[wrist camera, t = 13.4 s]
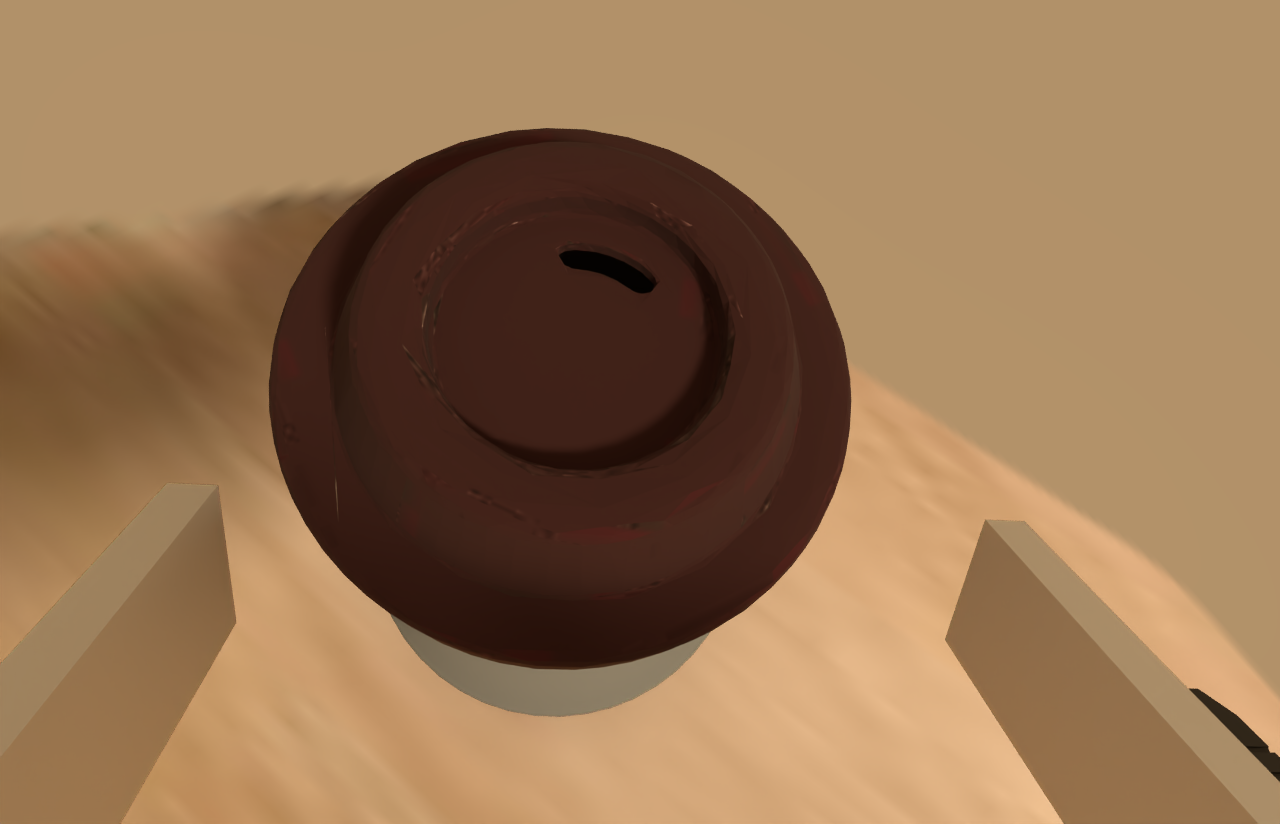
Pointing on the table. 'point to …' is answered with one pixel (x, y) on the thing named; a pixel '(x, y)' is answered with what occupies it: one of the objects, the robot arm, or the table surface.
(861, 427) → the table surface
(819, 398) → the coffee cup
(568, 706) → the slate coaster
